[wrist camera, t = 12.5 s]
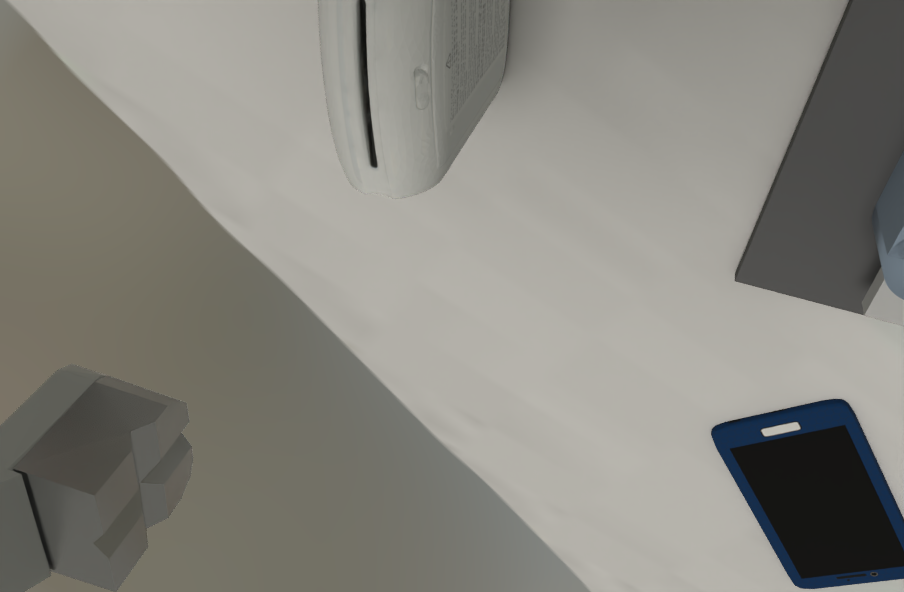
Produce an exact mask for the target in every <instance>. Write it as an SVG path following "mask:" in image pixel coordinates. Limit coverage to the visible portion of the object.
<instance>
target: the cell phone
mask: <svg viewBox="0 0 904 592" xmlns="http://www.w3.org/2000/svg"><path fill="white" fill-rule="evenodd" d="M711 436H712V438H713V441H714V443H715V446H716V448H717V450H718V452H719V453H720V455H721V457H722V459H723V461H724V462H725V464H726V466H727V468H728V469H729V471H730V473H731V475H732V477H733V478H734V480H735V482H736V484H737V485H738V487H739V489H740V491H741V492H742V494H743V496H744V498H745V500H746V501H747V503H748V505H749V507H750V508H751V510H752V512H753V514H754V516H755V517H756V519H757V521H758V523H759V524H760V526H761V528H762V530H763V532H764V533H765V535H766V537H767V539H768V540H769V542H770V544H771V546H772V547H773V549H774V551H775V553H776V555H777V556H778V558H779V560H780V562H781V563H782V565H783V567H784V569H785V571H786V572H787V574H788V576H789V577H790V579H791V580H792V582H793V583H794V585H795V586H797V587H799V588H803V589H817V588H826V587H834V586H843V585H852V584H861V583H870V582H878V581H887V580H896V579H904V519H903V517H902V514H901V512H900V510H899V508H898V506H897V504H896V501H895V499H894V497H893V495H892V493H891V491H890V488H889V486H888V484H887V482H886V480H885V478H884V476H883V473H882V471H881V469H880V467H879V465H878V463H877V460H876V458H875V456H874V454H873V452H872V450H871V448H870V445H869V443H868V441H867V439H866V437H865V435H864V432H863V430H862V428H861V426H860V424H859V422H858V419H857V417H856V415H855V413H854V411H853V410H852V408H851V407H850V405H849V404H848V403H847V402H846V401H844V400H842V399H831V400H824V401H819V402H814V403H810V404H805V405H801V406H796V407H791V408H787V409H782V410H778V411H773V412H769V413H764V414H760V415H755V416H751V417H746V418H742V419H737V420H733V421H728V422H724V423H722V424H719V425H716V426H715V427H714V428H713V429H712V432H711Z"/></svg>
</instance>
